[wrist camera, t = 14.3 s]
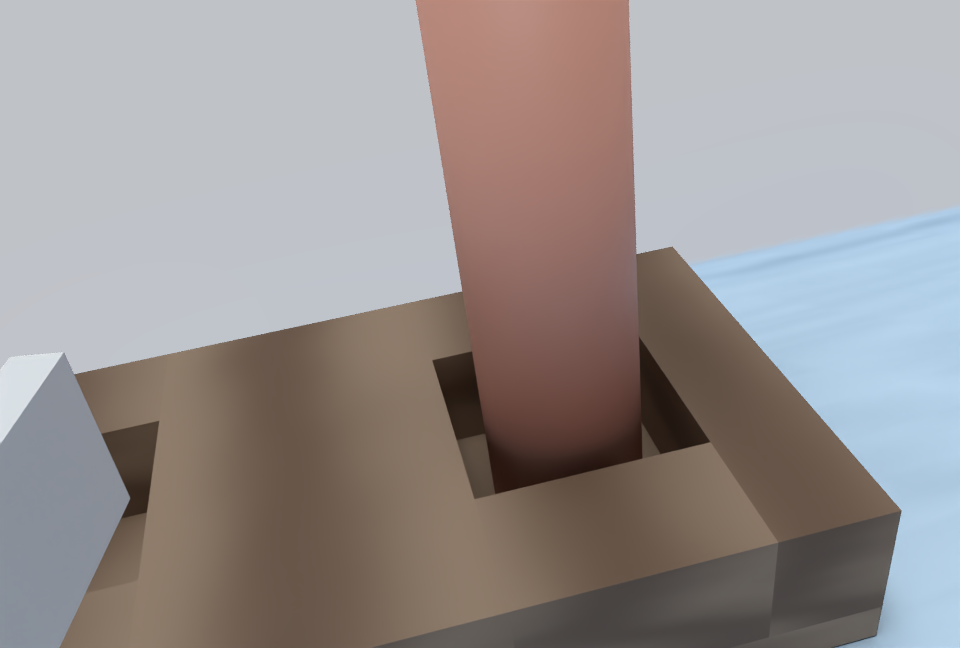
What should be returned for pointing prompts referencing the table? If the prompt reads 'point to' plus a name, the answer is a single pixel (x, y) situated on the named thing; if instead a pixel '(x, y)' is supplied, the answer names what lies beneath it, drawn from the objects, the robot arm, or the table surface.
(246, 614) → the hole board
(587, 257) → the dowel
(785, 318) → the table surface
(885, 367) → the table surface
